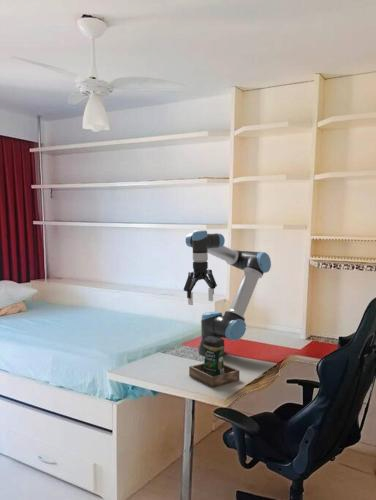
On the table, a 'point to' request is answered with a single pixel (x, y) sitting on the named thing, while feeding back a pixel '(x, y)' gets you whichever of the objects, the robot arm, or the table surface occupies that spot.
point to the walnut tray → (215, 381)
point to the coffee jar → (213, 356)
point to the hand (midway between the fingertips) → (200, 302)
